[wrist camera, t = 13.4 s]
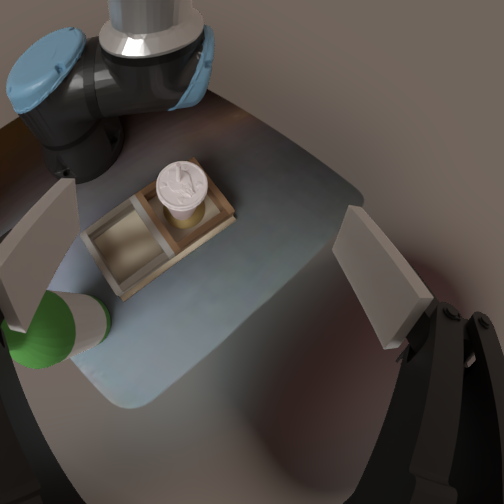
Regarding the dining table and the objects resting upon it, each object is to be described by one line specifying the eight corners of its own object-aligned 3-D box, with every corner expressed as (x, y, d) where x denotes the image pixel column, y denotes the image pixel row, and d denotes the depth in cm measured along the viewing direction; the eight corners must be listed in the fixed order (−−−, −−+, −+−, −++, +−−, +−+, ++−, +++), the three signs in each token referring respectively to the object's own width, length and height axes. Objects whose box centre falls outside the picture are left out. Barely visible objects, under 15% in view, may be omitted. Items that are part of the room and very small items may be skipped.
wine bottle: (64, 297, 38) (-78, 280, 9) (108, 292, 40) (-16, 268, 11) (72, 347, 37) (-61, 393, 8) (116, 343, 39) (7, 405, 10)
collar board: (84, 237, 40) (75, 231, 36) (191, 164, 46) (192, 152, 42) (124, 301, 40) (118, 301, 36) (235, 221, 46) (239, 213, 42)
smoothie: (183, 181, 44) (184, 132, 30) (212, 209, 44) (223, 169, 31) (152, 208, 42) (140, 167, 29) (181, 238, 42) (179, 208, 29)
